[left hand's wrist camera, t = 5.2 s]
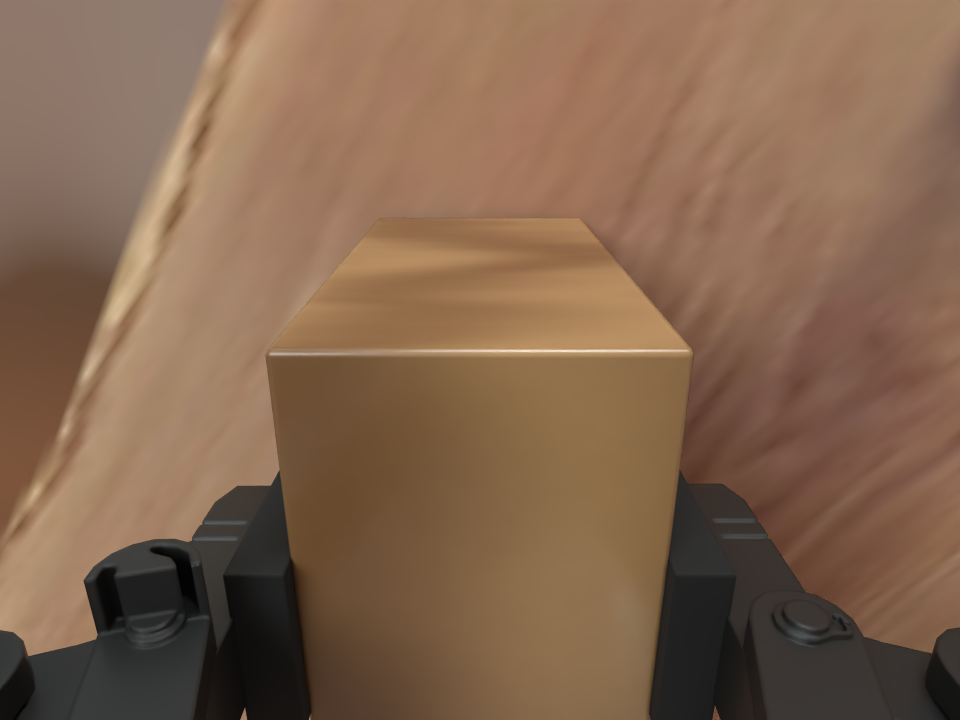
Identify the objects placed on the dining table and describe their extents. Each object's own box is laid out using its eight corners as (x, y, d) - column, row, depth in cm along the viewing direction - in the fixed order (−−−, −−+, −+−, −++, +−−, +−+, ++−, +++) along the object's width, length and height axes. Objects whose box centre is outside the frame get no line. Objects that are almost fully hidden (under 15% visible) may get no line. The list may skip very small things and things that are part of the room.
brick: (582, 217, 16) (697, 350, 8) (565, 515, 19) (635, 849, 11) (377, 217, 16) (262, 350, 7) (394, 515, 19) (324, 849, 11)
